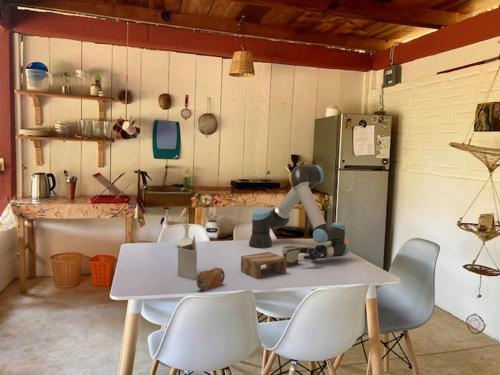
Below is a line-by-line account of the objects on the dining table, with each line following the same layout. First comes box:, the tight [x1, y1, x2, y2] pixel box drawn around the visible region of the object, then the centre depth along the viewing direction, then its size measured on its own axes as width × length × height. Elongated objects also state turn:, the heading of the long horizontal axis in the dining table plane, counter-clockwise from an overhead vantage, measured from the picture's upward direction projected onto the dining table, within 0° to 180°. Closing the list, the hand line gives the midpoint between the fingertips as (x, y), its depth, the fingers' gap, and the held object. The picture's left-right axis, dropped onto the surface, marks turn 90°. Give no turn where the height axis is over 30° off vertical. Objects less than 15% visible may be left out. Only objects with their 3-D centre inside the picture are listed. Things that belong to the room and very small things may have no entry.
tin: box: [195, 267, 226, 291], centre depth 177 cm, size 15×3×8 cm, turn 138°
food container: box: [281, 245, 301, 269], centre depth 217 cm, size 12×6×10 cm, turn 134°
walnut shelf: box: [240, 251, 287, 280], centre depth 202 cm, size 14×18×8 cm
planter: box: [177, 235, 198, 280], centre depth 194 cm, size 16×8×19 cm, turn 15°
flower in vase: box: [177, 207, 193, 247], centre depth 250 cm, size 13×11×25 cm
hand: (291, 254), depth 216 cm, fingers open, 13 cm apart
